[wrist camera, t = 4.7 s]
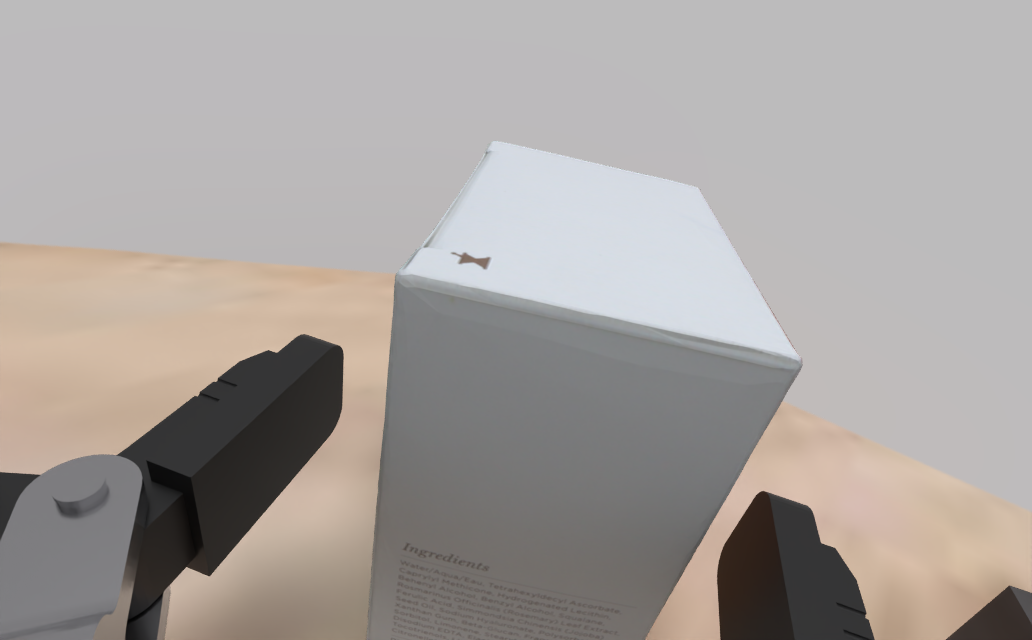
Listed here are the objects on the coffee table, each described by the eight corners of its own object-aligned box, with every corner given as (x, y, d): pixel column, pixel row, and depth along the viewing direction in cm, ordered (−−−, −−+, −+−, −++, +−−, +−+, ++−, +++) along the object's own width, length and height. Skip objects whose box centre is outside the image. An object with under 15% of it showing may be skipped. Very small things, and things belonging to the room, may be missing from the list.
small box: (596, 732, 12) (823, 371, 7) (356, 676, 12) (386, 269, 7) (595, 469, 19) (707, 182, 14) (441, 433, 19) (490, 132, 14)
